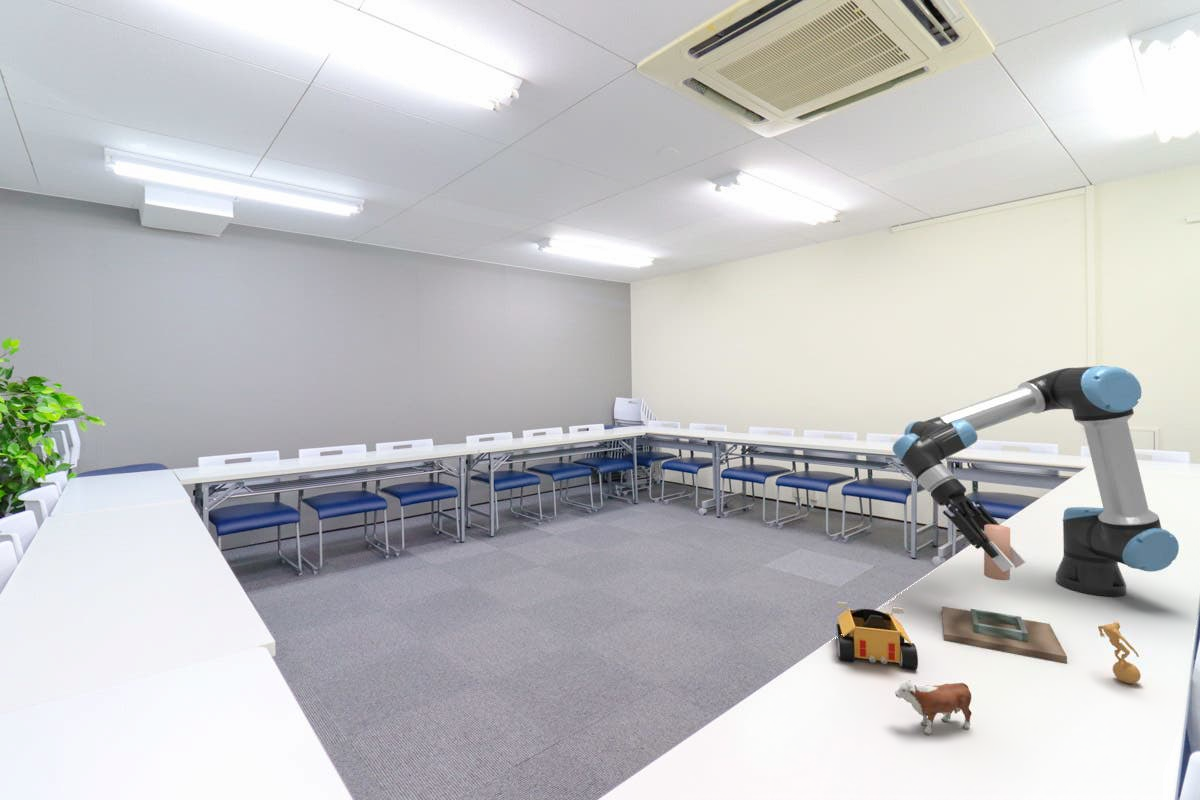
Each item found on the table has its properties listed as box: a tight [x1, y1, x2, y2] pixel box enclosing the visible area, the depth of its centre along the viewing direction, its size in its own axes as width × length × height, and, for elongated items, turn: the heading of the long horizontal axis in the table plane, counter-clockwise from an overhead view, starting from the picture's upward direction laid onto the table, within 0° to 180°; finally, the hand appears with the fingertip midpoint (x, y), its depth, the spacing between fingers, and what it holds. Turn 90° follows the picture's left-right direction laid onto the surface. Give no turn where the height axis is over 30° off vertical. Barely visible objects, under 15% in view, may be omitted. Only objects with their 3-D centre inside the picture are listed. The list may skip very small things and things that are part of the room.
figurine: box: [1097, 621, 1142, 684], centre depth 107 cm, size 8×6×12 cm
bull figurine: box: [894, 680, 972, 736], centre depth 94 cm, size 4×13×8 cm, turn 95°
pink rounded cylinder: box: [983, 524, 1011, 581], centre depth 129 cm, size 5×5×12 cm
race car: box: [835, 601, 919, 670], centre depth 119 cm, size 15×15×11 cm
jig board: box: [941, 606, 1068, 664], centre depth 127 cm, size 22×18×4 cm
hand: (1014, 566), depth 125 cm, fingers closed on pink rounded cylinder, 5 cm apart
